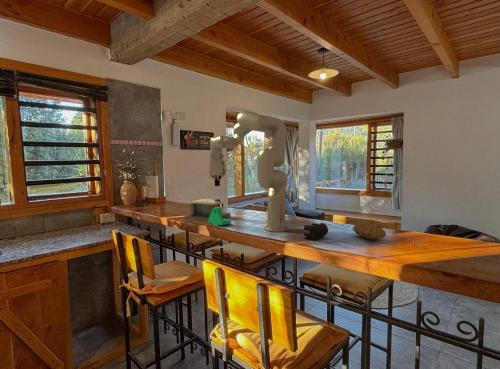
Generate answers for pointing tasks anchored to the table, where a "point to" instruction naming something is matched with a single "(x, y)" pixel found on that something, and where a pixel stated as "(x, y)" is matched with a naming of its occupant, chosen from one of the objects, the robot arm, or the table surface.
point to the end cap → (315, 231)
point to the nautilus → (369, 230)
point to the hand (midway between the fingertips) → (217, 186)
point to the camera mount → (217, 217)
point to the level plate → (208, 201)
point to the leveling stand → (202, 212)
